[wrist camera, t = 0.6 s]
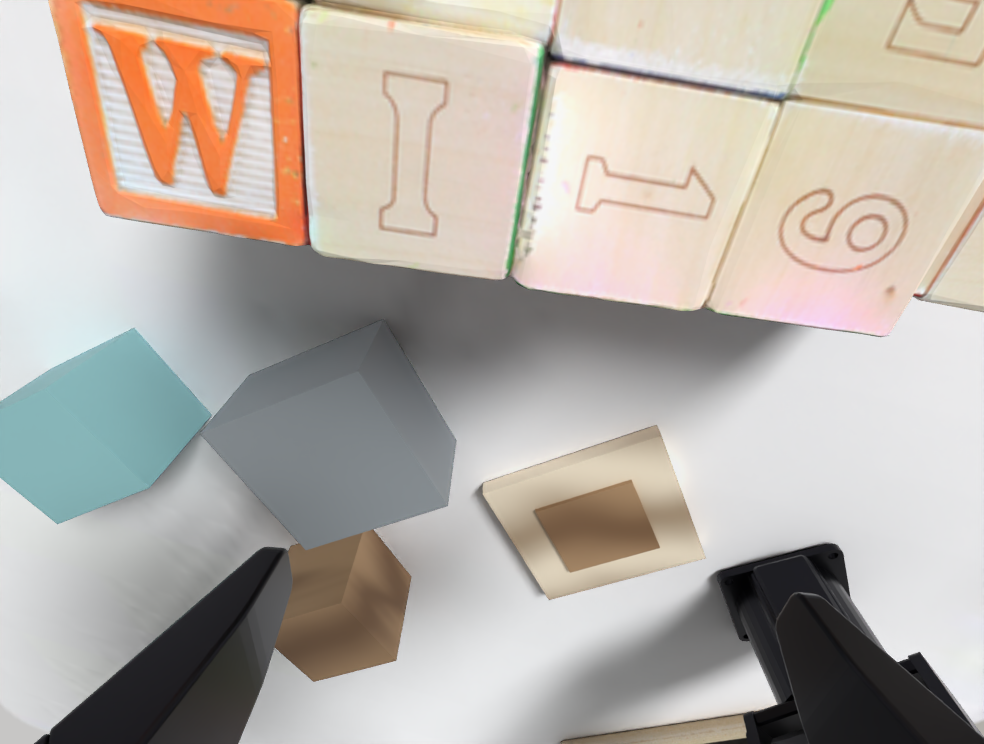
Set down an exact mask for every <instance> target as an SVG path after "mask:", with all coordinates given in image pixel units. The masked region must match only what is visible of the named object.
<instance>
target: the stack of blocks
mask: <svg viewBox="0 0 984 744" xmlns="http://www.w3.org/2000/svg"><path fill="white" fill-rule="evenodd" d="M48 1H49V6H50V10H51V14H52V18H53V22H54V26H55V29H56V33H57V37H58V42H59V46H60V50H61V54H62V59H63V63H64V67H65V72H66V76H67V80H68V84H69V89H70V93H71V97H72V101H73V106H74V110H75V114H76V118H77V122H78V126H79V130H80V134H81V138H82V142H83V146H84V150H85V154H86V158H87V163H88V167H89V171H90V175H91V179H92V183H93V187H94V191H95V194H96V197H97V200H98V203H99V206H100V208H101V210H102V212H103V213H104V214H105V215H106V216H110V217H116V218H122V219H127V220H133V221H139V222H146V223H152V224H159V225H165V226H172V227H179V228H185V229H192V230H198V231H205V232H211V233H217V234H222V235H228V236H233V237H240V238H248V239H254V240H260V241H266V242H272V243H278V244H284V245H290V246H302V245H311V247H312V248H313V249H314V251H315V252H317V253H318V254H320V255H322V256H324V257H331V258H339V259H347V260H353V261H359V262H365V263H371V264H380V265H389V266H396V267H402V268H409V269H416V270H423V271H429V272H436V273H443V274H451V275H458V276H466V277H474V278H481V279H489V280H501V279H504V278H507V277H512V278H513V279H514V280H515V281H516V283H517V284H518V285H520V286H522V287H524V288H527V289H529V290H538V291H545V292H550V293H555V294H562V295H572V296H582V297H588V298H595V299H601V300H607V301H615V302H623V303H630V304H637V305H644V306H651V307H658V308H665V309H672V310H679V311H693V310H697V309H701V308H705V309H708V310H711V311H714V312H716V313H719V314H722V315H729V316H736V317H743V318H751V319H758V320H765V321H772V322H779V323H787V324H793V325H800V326H807V327H813V328H820V329H827V330H835V331H843V332H851V333H859V334H865V335H871V336H877V337H883V336H889V334H890V333H891V331H892V329H893V328H894V326H895V324H896V323H897V321H898V319H899V318H900V316H901V314H902V313H903V311H904V309H905V308H906V306H907V305H908V303H909V301H910V300H911V298H912V296H913V297H915V298H916V299H918V300H921V301H926V302H931V303H937V304H942V305H947V306H953V307H958V308H963V309H969V310H974V311H980V312H984V0H48Z"/></svg>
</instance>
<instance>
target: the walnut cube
mask: <svg viewBox="0 0 984 744" xmlns="http://www.w3.org/2000/svg"><path fill="white" fill-rule="evenodd" d="M288 554H289V559H290V566H291V572H292V579H293V583H292V590H291V594H290V597H289V600H288V604H287V607H286V610H285V614H284V617H283V620H282V624H281V627H280V630H279V633H278V637H277V640H276V643H275V648H276V649H277V650H278V651H279V652H280V653H282V654H283V655H284V656H285V657H286V658H287V659H288V660H290V661H291V662H292V663H293V664H294V665H295V666H296V667H297V668H299V669H300V670H301V671H302V672H303V673H304V674H305V675H307V676H308V677H309V678H310V679H311V680H312V681H313V682H315V681H319V680H323V679H327V678H330V677H334V676H338V675H342V674H346V673H350V672H354V671H358V670H362V669H366V668H370V667H373V666H377V665H381V664H385V663H389V662H393V661H396V659H397V653H398V648H399V642H400V637H401V631H402V626H403V620H404V615H405V609H406V604H407V598H408V593H409V587H410V582H411V576H410V575H409V573H408V572H407V571H406V570H405V568H404V567H403V566H402V565H401V563H400V562H399V561H398V560H397V559H396V557H395V556H394V555H393V554H392V552H391V551H390V550H389V549H388V547H387V546H386V545H385V544H384V542H383V541H382V540H381V539H380V538H379V536H378V535H377V534H376V533H375V531H374V530H369V531H366V532H363V533H360V534H357V535H353V536H350V537H347V538H344V539H341V540H337V541H334V542H331V543H328V544H325V545H321V546H318V547H315V548H312V549H309V550H305V549H304V548H303V547H302V546H301V545H300V543H299V544H296V545H293V546H291V547H290V549H289V551H288Z"/></svg>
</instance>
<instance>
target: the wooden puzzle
mask: <svg viewBox="0 0 984 744" xmlns="http://www.w3.org/2000/svg"><path fill="white" fill-rule="evenodd" d="M746 732H747V731H746V727H745V723H744V719H743V714H741V715H734V716H728V717H721V718H714V719H707V720H701V721H694V722H687V723H680V724H674V725H667V726H660V727H653V728H647V729H640V730H633V731H626V732H619V733H612V734H605V735H598V736H592V737H585V738H578V739H571V740H564V741H562V742H561V744H748V742H747V738H746Z"/></svg>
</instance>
